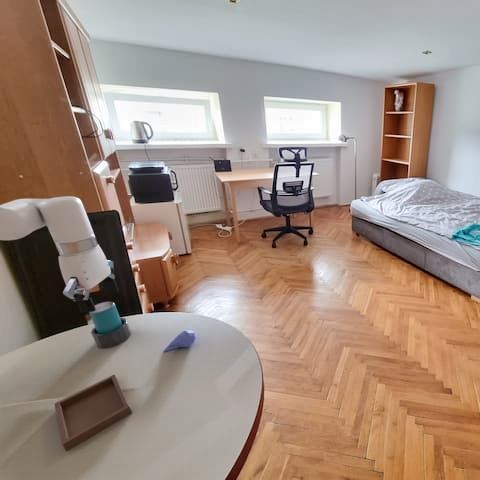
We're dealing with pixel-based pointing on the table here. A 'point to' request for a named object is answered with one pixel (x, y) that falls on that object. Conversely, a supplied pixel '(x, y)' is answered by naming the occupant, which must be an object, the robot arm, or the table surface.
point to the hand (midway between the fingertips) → (101, 301)
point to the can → (106, 317)
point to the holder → (112, 336)
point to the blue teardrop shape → (182, 340)
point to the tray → (90, 411)
